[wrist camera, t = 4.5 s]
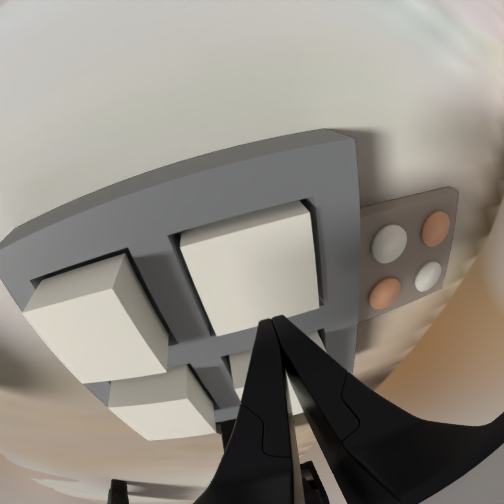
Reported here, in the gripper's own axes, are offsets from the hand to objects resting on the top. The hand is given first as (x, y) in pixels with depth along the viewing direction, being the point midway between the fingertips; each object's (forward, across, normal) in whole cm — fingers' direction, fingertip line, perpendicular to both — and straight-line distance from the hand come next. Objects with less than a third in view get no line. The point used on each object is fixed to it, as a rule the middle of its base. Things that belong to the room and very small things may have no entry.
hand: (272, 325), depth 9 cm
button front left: (+4, +7, 0) cm, 8 cm away
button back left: (+4, +8, +8) cm, 11 cm away
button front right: (+5, 0, 0) cm, 5 cm away
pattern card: (+6, -10, +4) cm, 12 cm away
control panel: (+6, +4, +4) cm, 8 cm away
